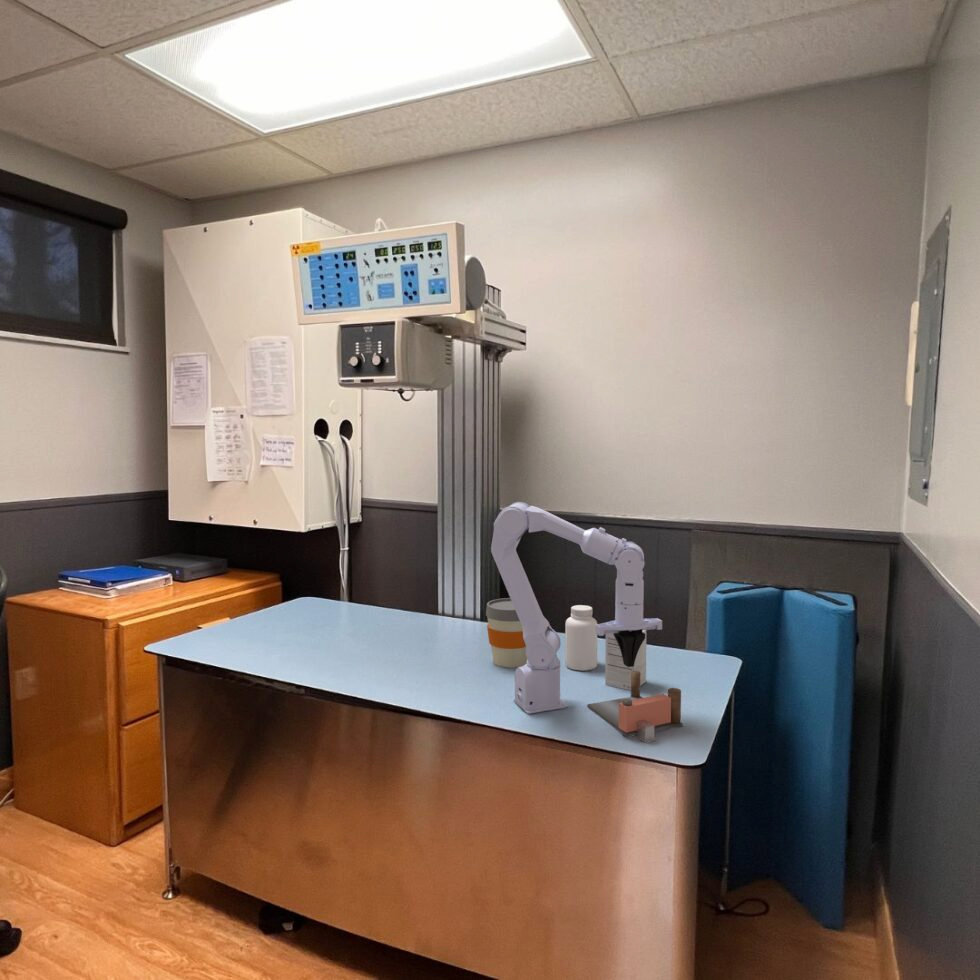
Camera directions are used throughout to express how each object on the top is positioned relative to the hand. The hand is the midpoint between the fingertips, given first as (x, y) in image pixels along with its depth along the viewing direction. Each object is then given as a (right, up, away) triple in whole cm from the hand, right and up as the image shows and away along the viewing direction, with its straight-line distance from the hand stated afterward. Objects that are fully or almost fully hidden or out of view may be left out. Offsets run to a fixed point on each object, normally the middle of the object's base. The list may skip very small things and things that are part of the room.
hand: (628, 665), depth 145 cm
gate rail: (+1, -10, -9) cm, 13 cm away
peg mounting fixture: (+1, -10, -1) cm, 10 cm away
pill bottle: (-6, -8, +28) cm, 30 cm away
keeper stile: (+1, -11, -12) cm, 16 cm away
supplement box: (+3, -9, +17) cm, 19 cm away
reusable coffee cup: (-24, -7, +32) cm, 41 cm away
